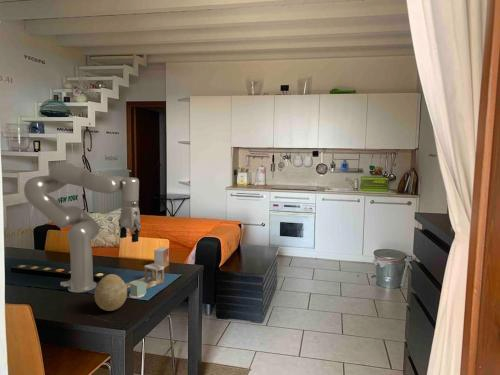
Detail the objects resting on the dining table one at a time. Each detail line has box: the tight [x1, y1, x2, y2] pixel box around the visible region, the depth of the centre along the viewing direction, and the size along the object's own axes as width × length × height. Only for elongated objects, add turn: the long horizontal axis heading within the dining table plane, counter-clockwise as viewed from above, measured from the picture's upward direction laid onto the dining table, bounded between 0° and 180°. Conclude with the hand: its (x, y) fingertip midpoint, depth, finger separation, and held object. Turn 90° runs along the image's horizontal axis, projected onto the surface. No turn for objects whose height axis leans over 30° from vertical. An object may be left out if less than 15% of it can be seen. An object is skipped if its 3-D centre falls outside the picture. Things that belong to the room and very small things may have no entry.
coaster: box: [128, 293, 146, 299], centre depth 166 cm, size 7×7×1 cm
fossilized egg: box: [93, 273, 128, 312], centre depth 150 cm, size 13×13×15 cm
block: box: [129, 281, 147, 297], centre depth 165 cm, size 5×5×5 cm
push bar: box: [139, 273, 161, 284], centre depth 183 cm, size 12×4×2 cm, turn 143°
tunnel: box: [125, 262, 165, 290], centre depth 177 cm, size 18×9×8 cm, turn 144°
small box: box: [153, 246, 170, 269], centre depth 206 cm, size 8×6×10 cm
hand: (129, 239), depth 170 cm, fingers open, 9 cm apart
